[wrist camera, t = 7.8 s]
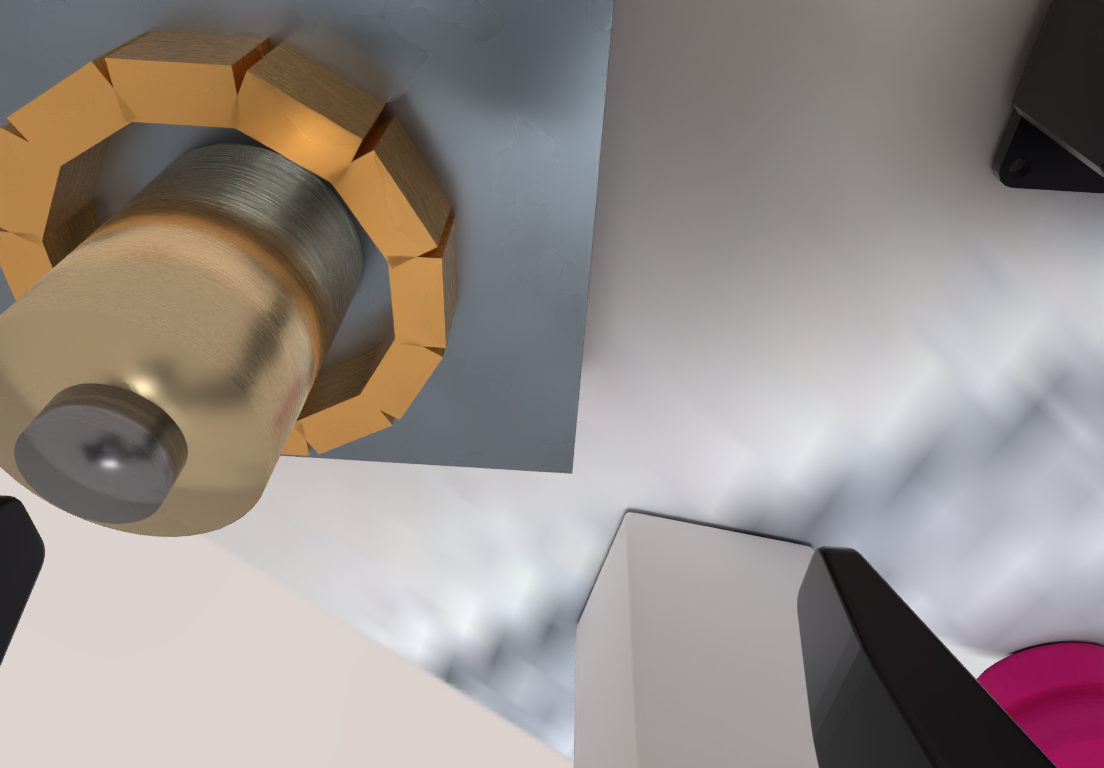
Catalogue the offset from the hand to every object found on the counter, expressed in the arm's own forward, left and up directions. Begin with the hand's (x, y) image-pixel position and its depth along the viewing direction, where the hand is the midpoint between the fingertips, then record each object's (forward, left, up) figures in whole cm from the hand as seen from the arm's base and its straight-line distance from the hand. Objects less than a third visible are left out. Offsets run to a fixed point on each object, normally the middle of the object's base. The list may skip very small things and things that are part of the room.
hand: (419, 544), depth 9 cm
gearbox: (+7, +1, -13) cm, 15 cm away
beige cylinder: (+5, +1, -8) cm, 10 cm away
